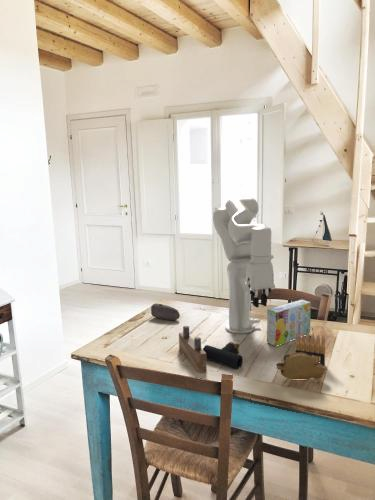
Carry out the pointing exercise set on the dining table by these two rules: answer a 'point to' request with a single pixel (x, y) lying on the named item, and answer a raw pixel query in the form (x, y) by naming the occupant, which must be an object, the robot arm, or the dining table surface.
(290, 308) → the snack box
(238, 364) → the pipe connector
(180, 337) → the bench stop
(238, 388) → the dining table surface
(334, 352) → the dining table surface
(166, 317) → the perforated stone tool
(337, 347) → the dining table surface
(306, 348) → the ammunition clip
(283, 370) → the wooden carving
